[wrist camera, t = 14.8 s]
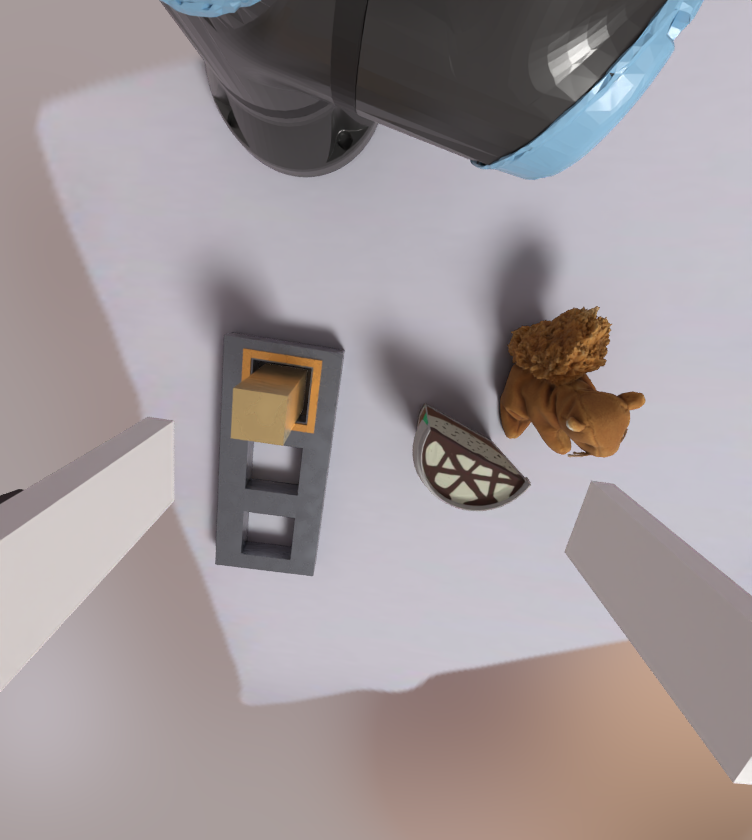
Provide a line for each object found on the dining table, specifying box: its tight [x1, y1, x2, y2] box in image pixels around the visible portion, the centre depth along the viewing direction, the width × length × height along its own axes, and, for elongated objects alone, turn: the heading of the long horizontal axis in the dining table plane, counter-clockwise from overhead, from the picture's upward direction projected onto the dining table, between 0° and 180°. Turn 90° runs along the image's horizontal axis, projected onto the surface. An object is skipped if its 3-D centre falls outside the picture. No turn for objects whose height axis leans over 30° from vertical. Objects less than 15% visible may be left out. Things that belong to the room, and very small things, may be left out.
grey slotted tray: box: [215, 332, 345, 576], centre depth 45 cm, size 28×12×3 cm, turn 171°
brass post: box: [231, 363, 307, 446], centre depth 39 cm, size 4×4×11 cm
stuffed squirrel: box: [500, 306, 645, 457], centre depth 38 cm, size 10×14×13 cm
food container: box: [413, 403, 531, 511], centre depth 42 cm, size 12×6×10 cm, turn 60°
